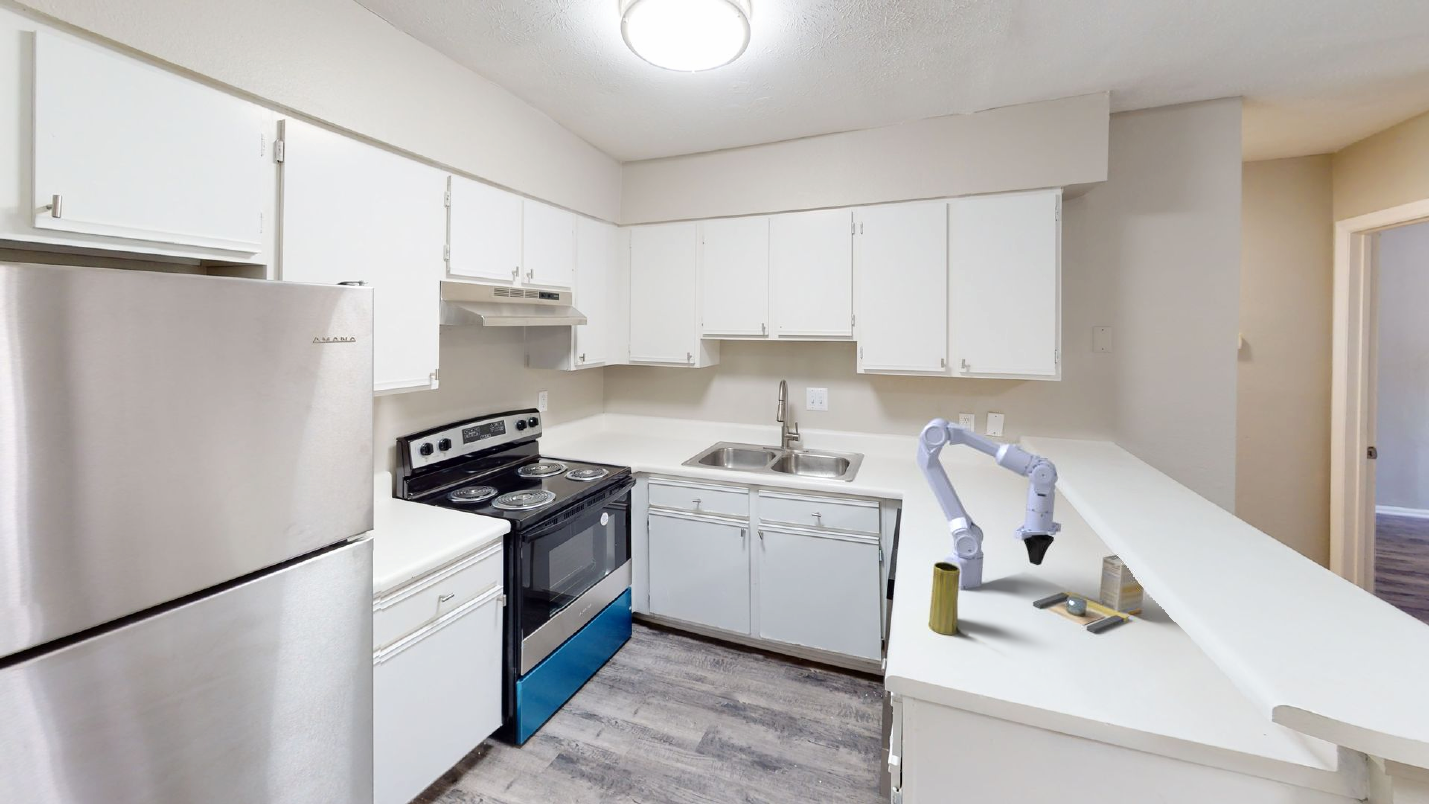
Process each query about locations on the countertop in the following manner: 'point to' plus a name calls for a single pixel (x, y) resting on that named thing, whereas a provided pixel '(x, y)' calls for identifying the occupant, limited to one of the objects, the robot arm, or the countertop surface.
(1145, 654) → the countertop surface
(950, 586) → the vase
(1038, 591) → the countertop surface
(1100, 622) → the frame
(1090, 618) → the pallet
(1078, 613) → the steel cylinder puck
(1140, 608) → the supplement box
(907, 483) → the countertop surface
